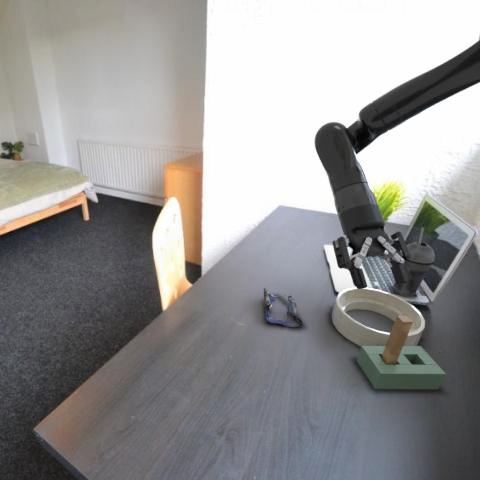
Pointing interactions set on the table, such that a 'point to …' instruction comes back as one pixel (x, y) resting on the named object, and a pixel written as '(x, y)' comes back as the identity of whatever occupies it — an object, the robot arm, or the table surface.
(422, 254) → the beverage cup
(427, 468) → the table surface
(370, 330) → the cream ring
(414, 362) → the stick stand
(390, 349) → the stirring stick
